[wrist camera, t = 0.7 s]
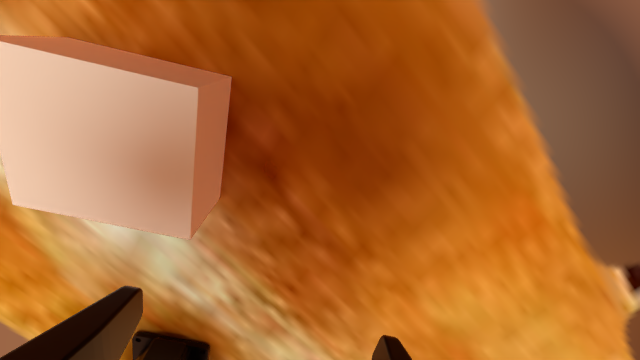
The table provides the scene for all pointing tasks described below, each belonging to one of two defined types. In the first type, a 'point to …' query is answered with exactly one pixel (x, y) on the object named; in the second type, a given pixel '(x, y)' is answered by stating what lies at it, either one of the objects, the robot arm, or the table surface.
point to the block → (111, 134)
